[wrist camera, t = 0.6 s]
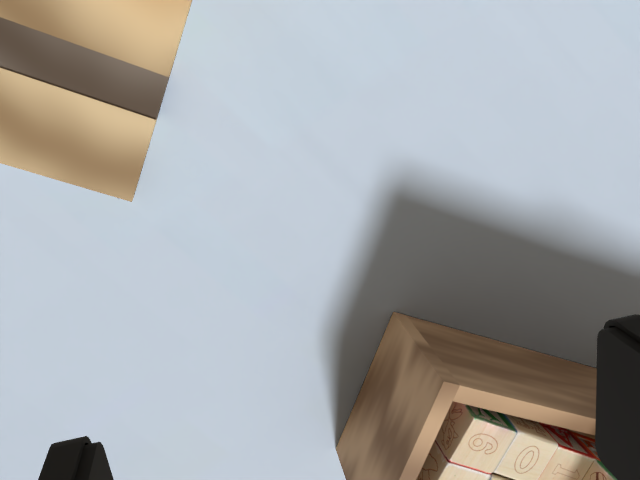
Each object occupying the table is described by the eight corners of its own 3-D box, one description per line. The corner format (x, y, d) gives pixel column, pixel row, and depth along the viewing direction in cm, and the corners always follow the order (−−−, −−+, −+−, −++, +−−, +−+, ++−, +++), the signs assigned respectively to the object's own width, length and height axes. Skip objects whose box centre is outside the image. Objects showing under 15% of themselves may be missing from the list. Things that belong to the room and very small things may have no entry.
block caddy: (393, 311, 41) (443, 381, 33) (686, 393, 48) (790, 467, 40) (335, 448, 44) (368, 546, 35) (622, 507, 51) (707, 599, 42)
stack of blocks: (376, 412, 44) (441, 545, 32) (418, 337, 42) (500, 448, 31) (601, 487, 50) (722, 621, 38) (642, 424, 49) (781, 543, 37)
